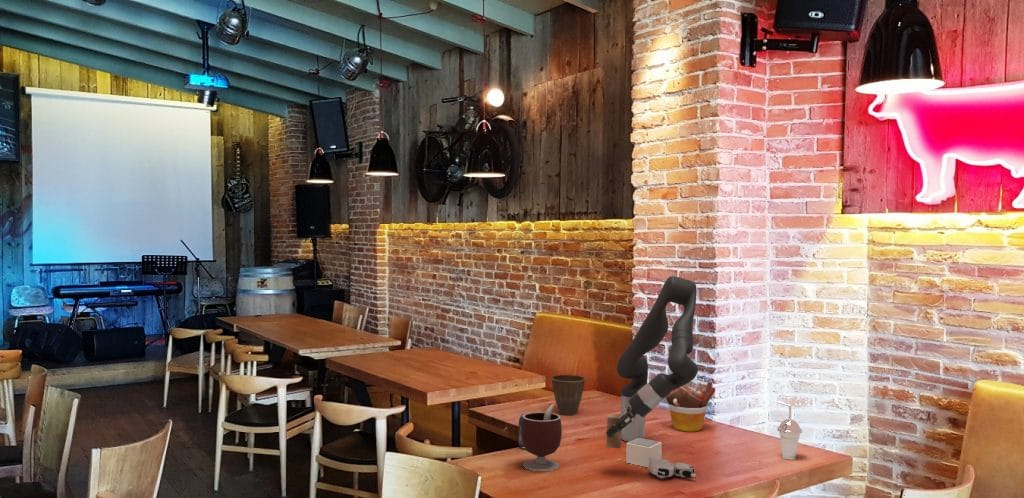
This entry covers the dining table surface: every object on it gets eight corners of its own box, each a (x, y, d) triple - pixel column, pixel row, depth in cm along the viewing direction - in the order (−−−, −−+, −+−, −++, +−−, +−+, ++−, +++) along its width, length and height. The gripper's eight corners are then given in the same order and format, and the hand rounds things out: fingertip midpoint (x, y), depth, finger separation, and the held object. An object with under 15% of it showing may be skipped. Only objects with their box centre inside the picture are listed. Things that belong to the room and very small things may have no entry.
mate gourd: (548, 475, 242) (549, 414, 242) (512, 468, 250) (513, 409, 249) (570, 463, 255) (571, 406, 255) (535, 456, 263) (536, 400, 263)
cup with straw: (790, 462, 260) (791, 405, 260) (770, 455, 268) (771, 400, 268) (807, 459, 264) (808, 403, 264) (787, 452, 272) (787, 398, 272)
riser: (626, 463, 257) (626, 442, 256) (638, 457, 264) (638, 437, 264) (649, 468, 251) (649, 447, 251) (661, 462, 258) (661, 441, 258)
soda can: (539, 445, 277) (539, 414, 277) (533, 450, 270) (534, 418, 270) (521, 444, 279) (522, 412, 279) (516, 448, 273) (516, 416, 272)
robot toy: (690, 473, 249) (645, 468, 250) (691, 460, 249) (646, 455, 250) (696, 485, 237) (650, 480, 238) (698, 471, 237) (651, 466, 238)
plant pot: (585, 417, 322) (586, 381, 322) (551, 417, 322) (552, 380, 322) (583, 410, 337) (583, 375, 337) (550, 409, 337) (550, 374, 337)
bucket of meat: (664, 432, 299) (665, 383, 299) (663, 422, 315) (663, 376, 315) (715, 435, 295) (716, 385, 295) (711, 425, 312) (712, 378, 311)
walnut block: (606, 447, 244) (607, 417, 244) (607, 443, 249) (608, 413, 248) (620, 448, 243) (621, 418, 243) (621, 444, 248) (621, 414, 247)
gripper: (639, 386, 251) (602, 419, 254) (637, 395, 237) (598, 430, 240) (654, 403, 250) (617, 435, 253) (653, 413, 236) (614, 447, 239)
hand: (608, 432), depth 246 cm, fingers closed on walnut block, 4 cm apart
